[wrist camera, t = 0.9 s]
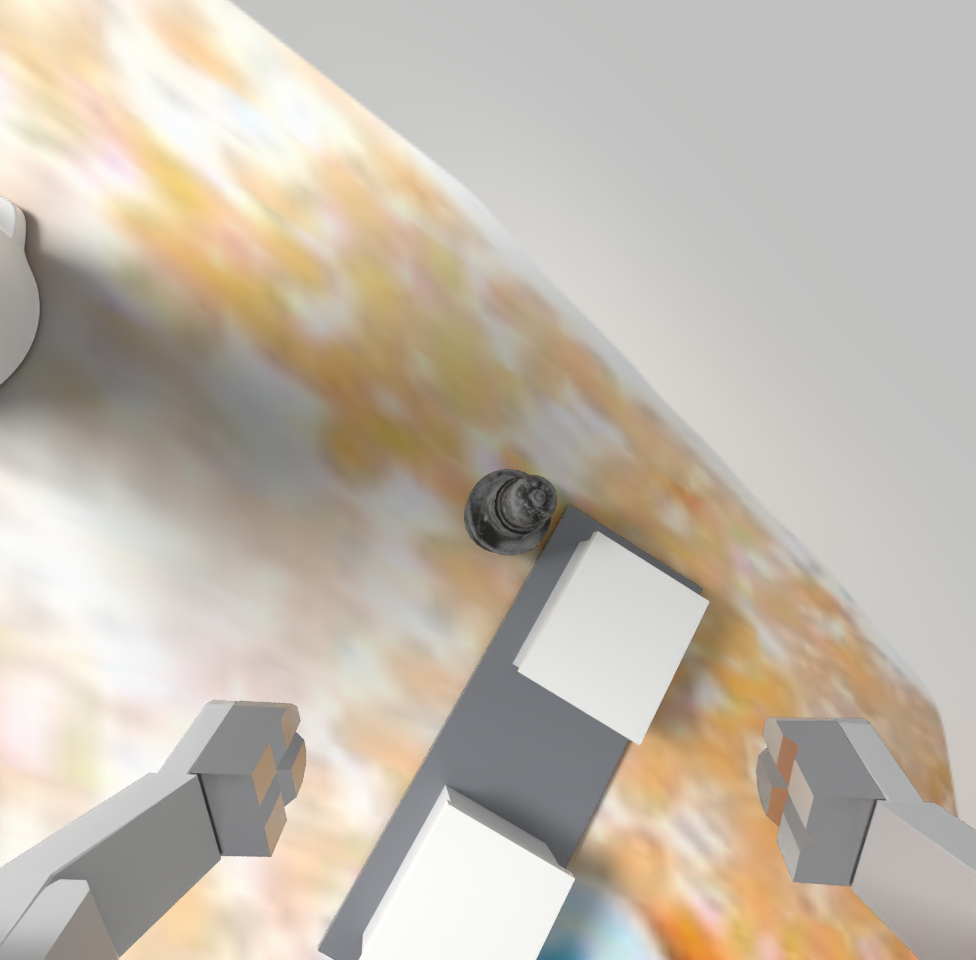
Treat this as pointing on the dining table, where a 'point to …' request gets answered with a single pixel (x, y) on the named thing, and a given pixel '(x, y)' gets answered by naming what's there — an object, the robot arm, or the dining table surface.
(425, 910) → the grey mounting plate
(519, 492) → the dark grey upright figurine
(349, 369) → the dining table surface
